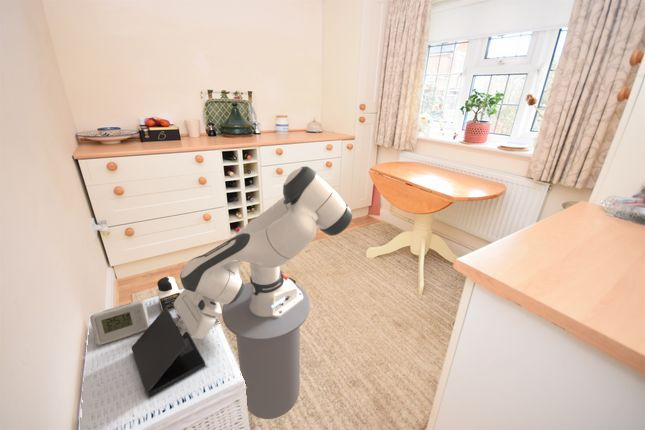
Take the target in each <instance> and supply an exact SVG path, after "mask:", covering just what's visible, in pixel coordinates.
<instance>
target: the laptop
mask: <svg viewBox="0 0 645 430" xmlns="http://www.w3.org/2000/svg"><path fill="white" fill-rule="evenodd" d="M182 337H183V338H184V340H185V342H186V344H187V345H186V347H185V348H184V349H183V350H182V352H181V353H180V354H179V355H178V357H177V358H176V359H175V360H174V362H173V363H172V364H171V365H170V366H169V368H168V369H167V370H166V371H165V373H164V374H163V375H162V376H161V378H160V379H159V380H158V381H157V383H156V384H155V385H154V386H153V388H152V389H151V390H150V391H149V392H148V393H147V394H148V397H149V398H151V397H153V396H155V395H157V394H159V393H160V392H162V391H164V390H165V389H167V388H169V387H171V386H173V385H174V384H176V383H178V382H180V381H181V380H184V379H185V378H187V377H189V376H191V375H192V374H194V373H196V372H198V371H200V370H201V369H203V368H205V367H206V364H205V361H204V359H203V357H202V355H201V354H200V351H199V349H198V348H197V346H196V344H195V342H194V341H193V338H192V336H191V334H190V332H189V331H187V332H185V333H184V334H183V336H182Z"/></svg>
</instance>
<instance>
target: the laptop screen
mask: <svg viewBox="0 0 645 430" xmlns="http://www.w3.org/2000/svg"><path fill="white" fill-rule="evenodd" d="M186 345H187V344H186V342H185V340H184V338H183V337H182V335H181V333H180V331H179V329H178V327H177V323H176V321H175V319H174V317H173V316H172V314H171V312H170V310H168V308H167V307H165V308H164V310H163V311H162V310H161V312H160V313H159V314H158V315H157V317H156V318H155V319H154V320H153V321H152V322H151V323H150V326H149V327H148V328H147V330H144V331H143V333H142V334H141V335H140V337H139V338H138V339H137V340H136V341H135V342H134V343H133V344H132V346H131V351H132V354H133V357H134V360H135V363H136V367H137V370H138V374H139V376H140V379H141V382H142V386H143V390H144V393H145V394H148V392H149V391H150V390H151V389H152V388H153V386H154V385H155V384H156V383H157V381H158V380H159V379H160V378H161V376H162V375H163V374H164V373H165V371H166V370H167V369H168V368H169V366H170V365H171V364H172V363H173V362H174V360H175V359H176V358H177V357H178V355H179V354H180V353H181V352H182V350H183V349H184V348H185V347H186Z"/></svg>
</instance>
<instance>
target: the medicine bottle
mask: <svg viewBox="0 0 645 430" xmlns="http://www.w3.org/2000/svg"><path fill="white" fill-rule="evenodd" d="M156 284H157V288H156V293H157V297H158V301H159V305H160V307H161V312H162V311H163V310H164V308H165V307H167V308H168V310H169V311H170V310H173V309H174V310H175V308H174V307H173V306H172V305H171V304H170V303H169V301H170V302H172V303H173V304H174V302H175V300H176V299H177V297H178V296H179V295H180V294H181V292H180V289H179V286H178V284H177V283H176V279H175V278H174V277H173V276H164V277H162V278H159V280H158V281H157V282H156Z"/></svg>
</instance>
